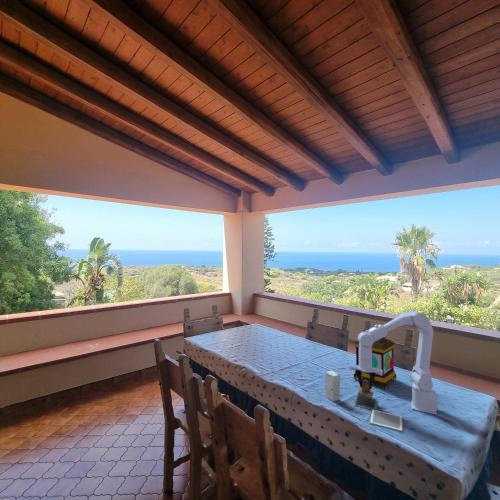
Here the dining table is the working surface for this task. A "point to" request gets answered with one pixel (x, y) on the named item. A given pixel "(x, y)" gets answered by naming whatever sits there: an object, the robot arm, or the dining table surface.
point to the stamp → (365, 389)
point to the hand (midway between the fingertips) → (365, 387)
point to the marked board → (386, 420)
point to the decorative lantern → (380, 360)
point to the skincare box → (332, 386)
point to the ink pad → (366, 402)
